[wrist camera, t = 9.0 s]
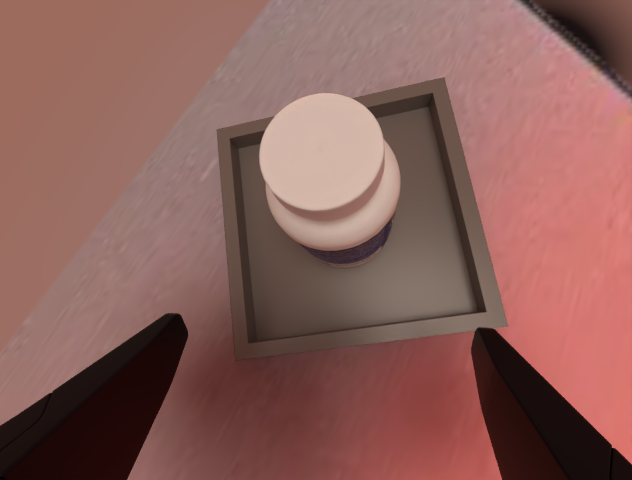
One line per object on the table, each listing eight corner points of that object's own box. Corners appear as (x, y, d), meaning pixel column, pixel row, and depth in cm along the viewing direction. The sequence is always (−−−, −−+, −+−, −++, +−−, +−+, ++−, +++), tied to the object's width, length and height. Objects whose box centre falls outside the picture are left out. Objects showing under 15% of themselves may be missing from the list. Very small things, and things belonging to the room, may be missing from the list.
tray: (249, 355, 20) (235, 360, 18) (230, 144, 23) (216, 129, 21) (493, 324, 18) (508, 326, 16) (437, 98, 21) (444, 77, 19)
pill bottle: (407, 246, 19) (442, 187, 9) (321, 283, 19) (271, 262, 10) (368, 167, 20) (364, 44, 11) (288, 203, 20) (216, 115, 11)
